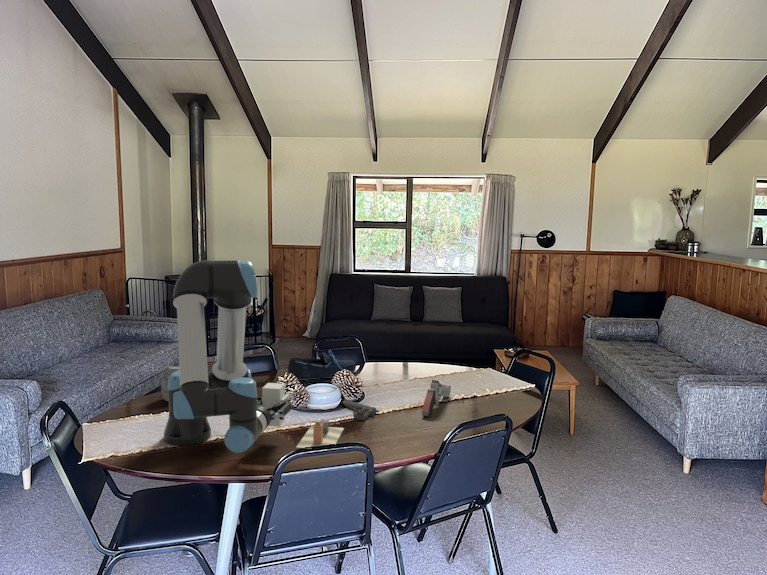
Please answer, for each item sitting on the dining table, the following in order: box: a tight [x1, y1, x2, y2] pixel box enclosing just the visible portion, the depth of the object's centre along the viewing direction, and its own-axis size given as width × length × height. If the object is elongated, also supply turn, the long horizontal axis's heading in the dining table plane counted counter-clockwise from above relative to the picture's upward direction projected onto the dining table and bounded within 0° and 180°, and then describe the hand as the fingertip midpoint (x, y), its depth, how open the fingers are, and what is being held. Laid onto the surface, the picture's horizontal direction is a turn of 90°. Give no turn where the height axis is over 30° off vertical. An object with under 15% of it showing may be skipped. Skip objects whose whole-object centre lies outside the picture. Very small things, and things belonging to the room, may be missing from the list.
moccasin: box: [287, 349, 357, 381], centre depth 275 cm, size 14×34×12 cm, turn 124°
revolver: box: [421, 379, 452, 418], centre depth 233 cm, size 4×29×15 cm, turn 158°
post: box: [312, 419, 323, 444], centre depth 189 cm, size 3×3×7 cm
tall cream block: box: [261, 382, 286, 428], centre depth 189 cm, size 6×6×13 cm
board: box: [296, 419, 345, 449], centre depth 194 cm, size 20×12×5 cm, turn 173°
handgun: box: [341, 400, 380, 421], centre depth 224 cm, size 3×18×12 cm
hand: (278, 397), depth 194 cm, fingers closed on tall cream block, 6 cm apart
